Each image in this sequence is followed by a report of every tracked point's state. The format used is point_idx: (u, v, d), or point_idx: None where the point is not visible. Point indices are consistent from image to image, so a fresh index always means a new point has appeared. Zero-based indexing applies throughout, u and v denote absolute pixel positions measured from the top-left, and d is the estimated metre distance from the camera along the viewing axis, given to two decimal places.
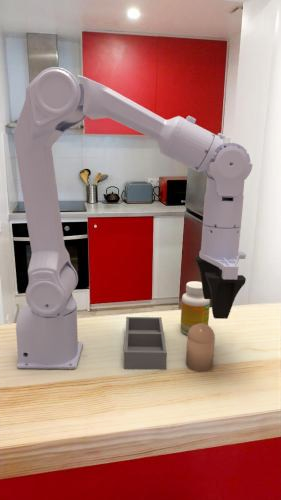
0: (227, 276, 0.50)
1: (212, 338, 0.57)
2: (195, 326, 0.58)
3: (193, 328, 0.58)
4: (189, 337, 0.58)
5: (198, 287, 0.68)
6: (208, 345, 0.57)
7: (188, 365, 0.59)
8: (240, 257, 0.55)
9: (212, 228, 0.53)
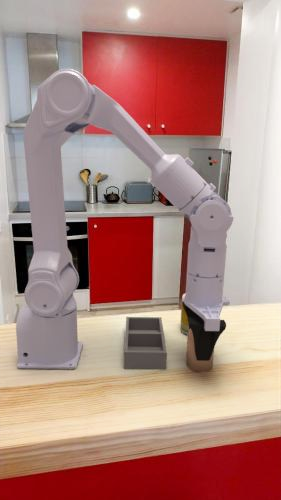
0: (209, 328, 0.50)
1: None
2: None
3: None
4: (189, 337, 0.58)
5: None
6: None
7: (188, 365, 0.59)
8: (224, 304, 0.56)
9: (195, 277, 0.54)
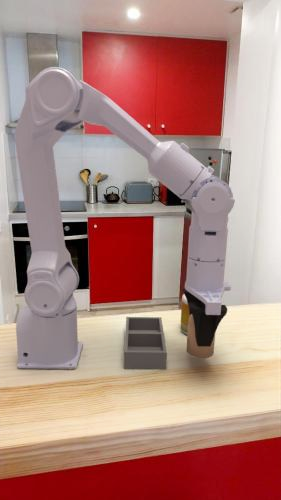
0: (211, 311, 0.50)
1: None
2: None
3: None
4: (190, 323, 0.57)
5: None
6: None
7: (188, 352, 0.58)
8: (225, 289, 0.55)
9: (196, 261, 0.53)
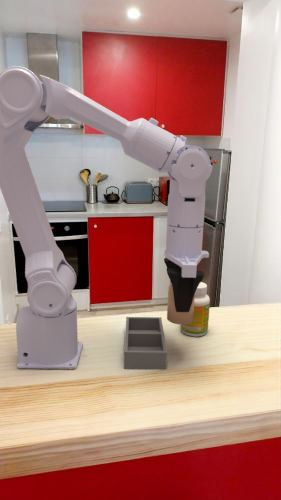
0: (186, 274, 0.51)
1: None
2: None
3: None
4: (169, 290, 0.59)
5: (198, 287, 0.68)
6: None
7: (168, 319, 0.60)
8: (203, 256, 0.57)
9: (174, 228, 0.55)
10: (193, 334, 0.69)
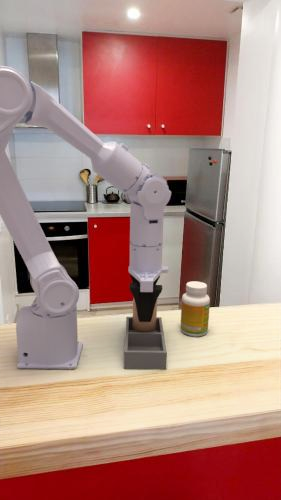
0: (144, 289, 0.57)
1: None
2: None
3: None
4: (133, 302, 0.65)
5: (198, 287, 0.68)
6: None
7: (133, 327, 0.66)
8: (163, 271, 0.63)
9: (135, 247, 0.61)
10: (193, 334, 0.69)
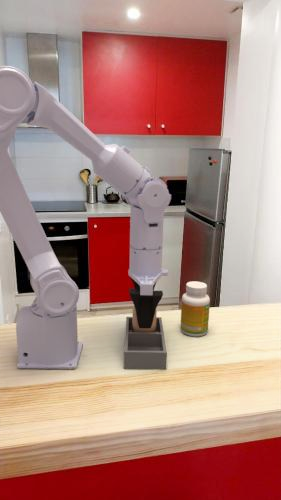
0: (144, 292, 0.57)
1: None
2: None
3: None
4: (133, 312, 0.65)
5: (198, 287, 0.68)
6: None
7: None
8: (163, 274, 0.63)
9: (135, 250, 0.61)
10: (193, 334, 0.69)
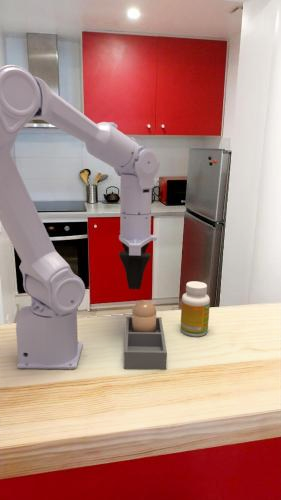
0: (132, 252, 0.62)
1: (153, 312, 0.65)
2: (138, 302, 0.66)
3: (136, 304, 0.65)
4: (133, 312, 0.65)
5: (198, 287, 0.68)
6: (149, 318, 0.64)
7: None
8: (151, 239, 0.67)
9: (125, 215, 0.65)
10: (193, 334, 0.69)
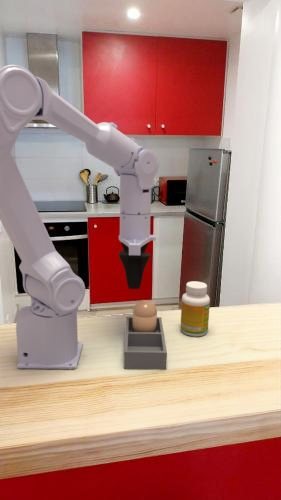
0: (132, 252, 0.62)
1: (153, 313, 0.65)
2: (139, 302, 0.66)
3: (137, 304, 0.65)
4: (134, 312, 0.65)
5: (198, 287, 0.68)
6: (150, 318, 0.64)
7: None
8: (151, 239, 0.68)
9: (125, 215, 0.65)
10: (193, 334, 0.69)
